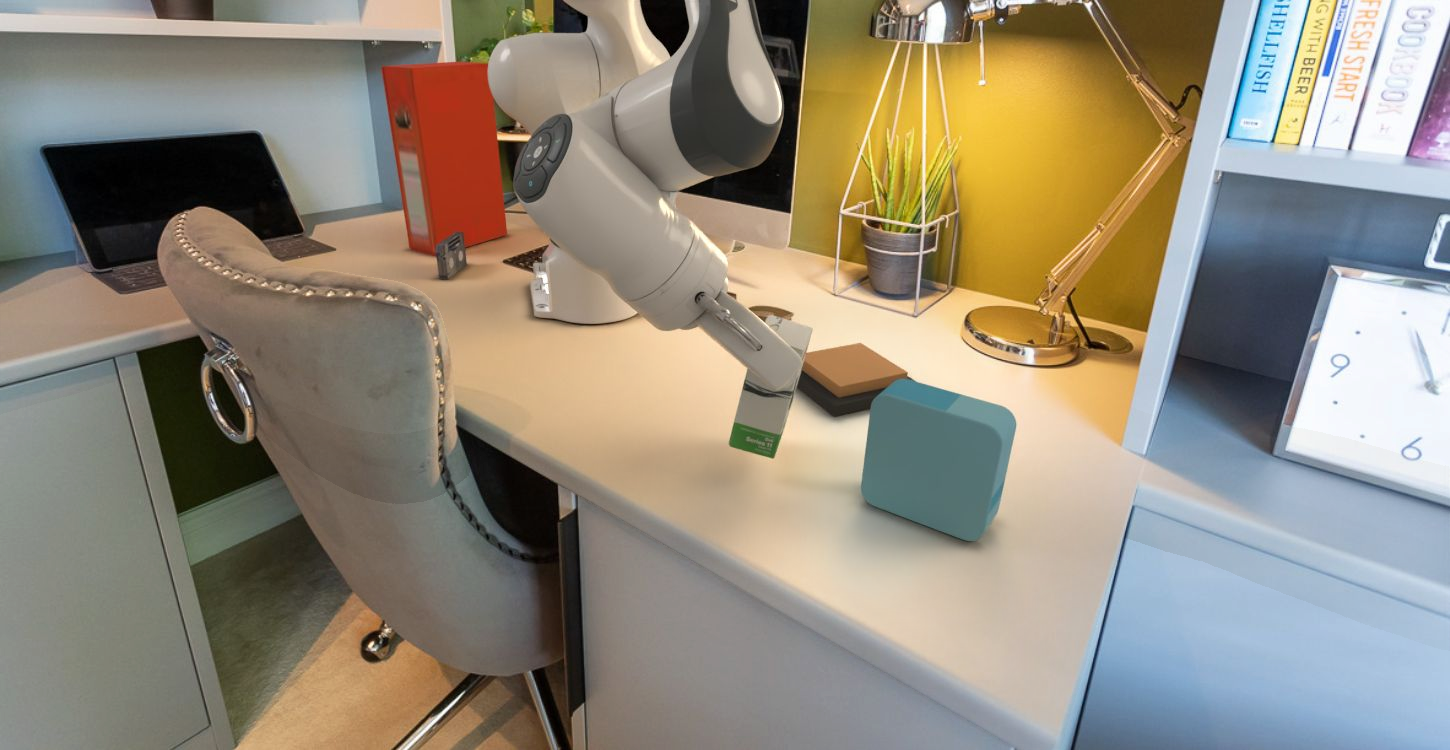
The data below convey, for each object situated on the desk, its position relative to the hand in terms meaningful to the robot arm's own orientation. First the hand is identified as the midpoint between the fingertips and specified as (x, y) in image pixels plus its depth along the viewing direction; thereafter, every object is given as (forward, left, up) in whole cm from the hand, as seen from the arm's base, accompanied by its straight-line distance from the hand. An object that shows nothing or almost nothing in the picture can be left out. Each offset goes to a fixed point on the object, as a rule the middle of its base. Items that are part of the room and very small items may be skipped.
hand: (769, 363), depth 76 cm
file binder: (-95, -15, -12) cm, 97 cm away
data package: (+13, +10, -12) cm, 21 cm away
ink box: (-1, 0, -9) cm, 9 cm away
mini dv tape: (-77, -19, -12) cm, 80 cm away
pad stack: (-13, +19, -12) cm, 26 cm away
